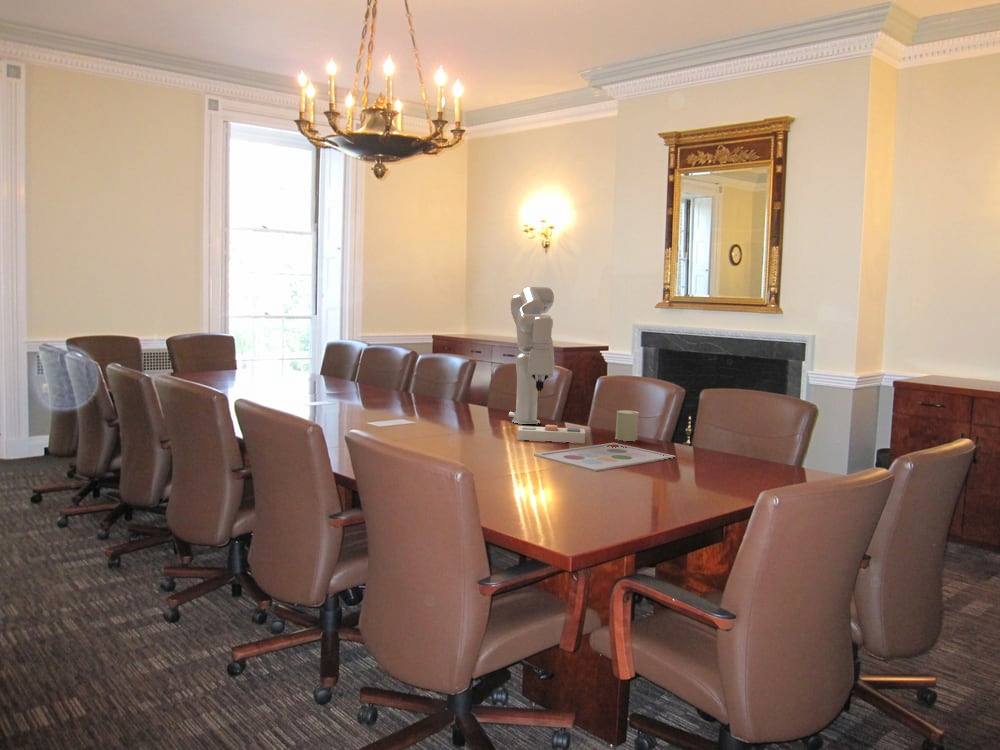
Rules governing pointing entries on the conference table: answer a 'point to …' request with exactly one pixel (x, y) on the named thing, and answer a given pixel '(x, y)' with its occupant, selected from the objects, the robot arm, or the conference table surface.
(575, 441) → the button strip
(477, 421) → the conference table surface
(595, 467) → the dotted sorting mat
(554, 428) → the terracotta button
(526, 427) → the sage button
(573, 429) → the charcoal button
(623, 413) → the can
